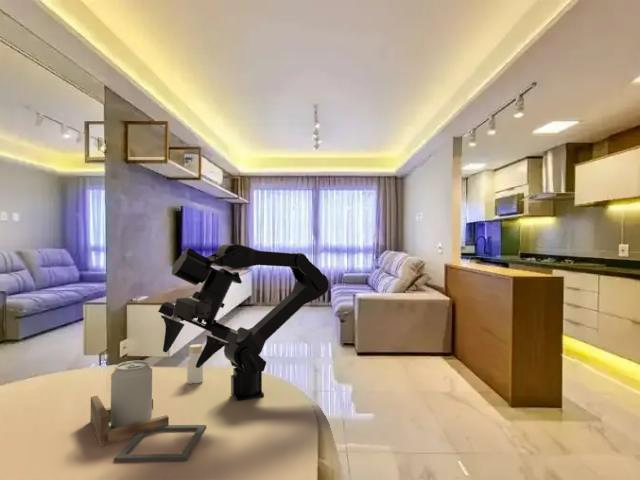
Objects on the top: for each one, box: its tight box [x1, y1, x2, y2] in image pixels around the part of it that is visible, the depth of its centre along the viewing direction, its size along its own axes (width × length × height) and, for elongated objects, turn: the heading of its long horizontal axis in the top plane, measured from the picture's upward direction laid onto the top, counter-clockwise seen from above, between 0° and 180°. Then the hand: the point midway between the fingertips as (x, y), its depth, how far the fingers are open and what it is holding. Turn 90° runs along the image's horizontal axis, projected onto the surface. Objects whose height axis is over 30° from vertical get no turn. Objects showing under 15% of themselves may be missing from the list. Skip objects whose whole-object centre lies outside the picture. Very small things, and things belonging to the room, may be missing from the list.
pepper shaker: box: [186, 343, 205, 385], centre depth 103 cm, size 4×4×10 cm
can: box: [109, 359, 153, 428], centre depth 78 cm, size 8×8×12 cm
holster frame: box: [113, 424, 207, 463], centre depth 70 cm, size 12×12×1 cm
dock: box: [90, 395, 170, 447], centre depth 78 cm, size 12×12×5 cm
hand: (180, 359), depth 85 cm, fingers open, 9 cm apart
